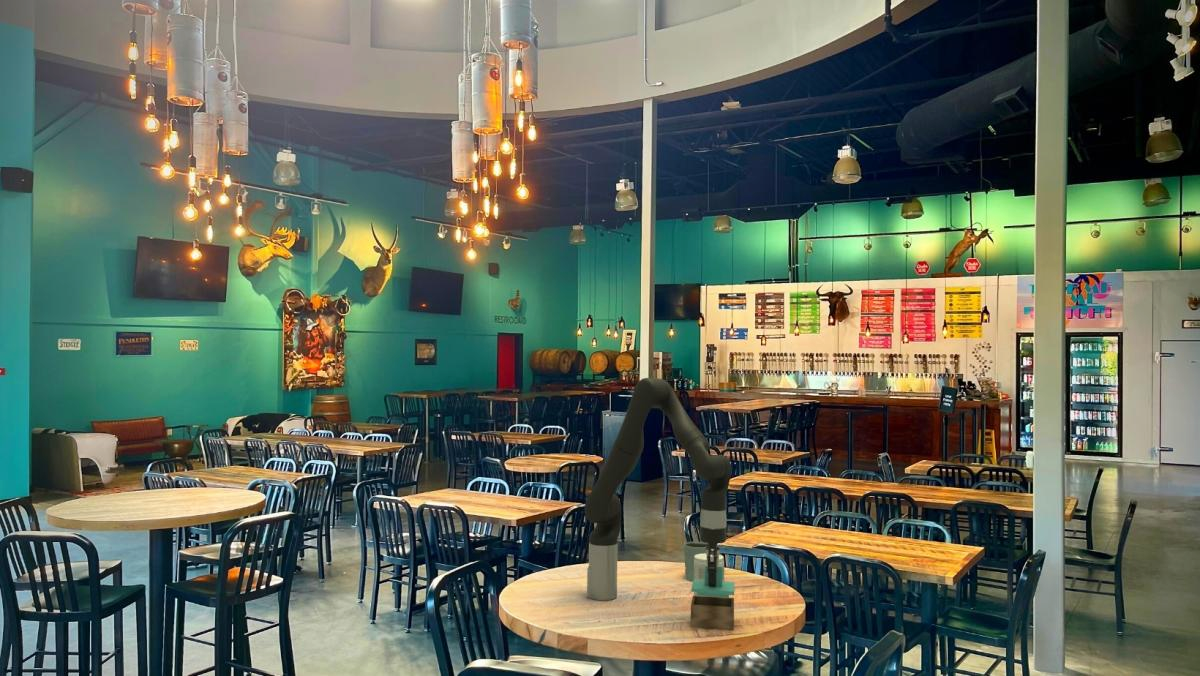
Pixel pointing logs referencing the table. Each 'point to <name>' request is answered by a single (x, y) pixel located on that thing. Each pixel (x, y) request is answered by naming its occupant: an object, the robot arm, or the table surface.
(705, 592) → the lid
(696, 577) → the supplement tub
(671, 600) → the table surface
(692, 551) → the grey green pot
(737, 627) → the table surface
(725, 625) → the crate
